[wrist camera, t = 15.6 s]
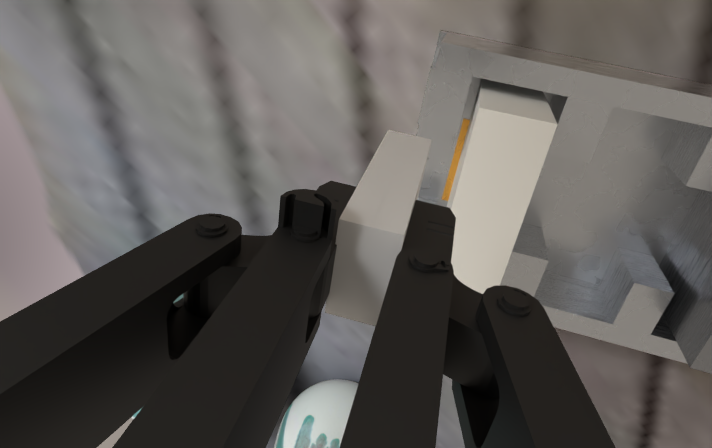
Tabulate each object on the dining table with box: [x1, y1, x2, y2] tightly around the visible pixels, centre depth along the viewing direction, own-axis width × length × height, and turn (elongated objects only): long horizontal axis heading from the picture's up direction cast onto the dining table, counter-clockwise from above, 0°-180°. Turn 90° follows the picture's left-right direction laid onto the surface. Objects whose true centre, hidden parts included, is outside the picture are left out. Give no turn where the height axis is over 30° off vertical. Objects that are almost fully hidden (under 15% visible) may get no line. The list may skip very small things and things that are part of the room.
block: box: [447, 78, 558, 294], centre depth 32 cm, size 4×12×9 cm, turn 170°
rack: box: [416, 30, 712, 374], centre depth 32 cm, size 27×17×10 cm, turn 80°
